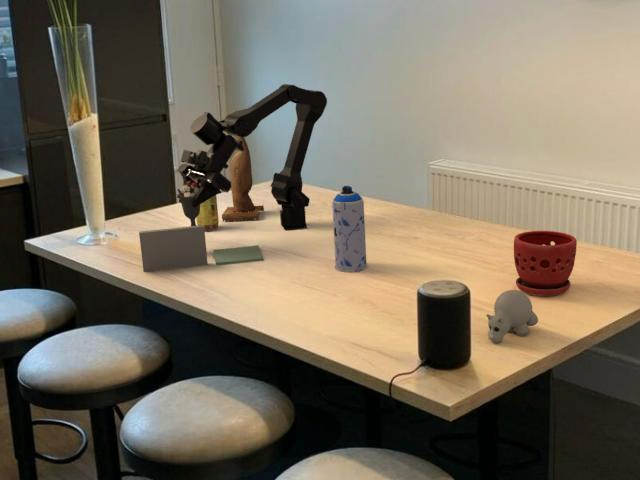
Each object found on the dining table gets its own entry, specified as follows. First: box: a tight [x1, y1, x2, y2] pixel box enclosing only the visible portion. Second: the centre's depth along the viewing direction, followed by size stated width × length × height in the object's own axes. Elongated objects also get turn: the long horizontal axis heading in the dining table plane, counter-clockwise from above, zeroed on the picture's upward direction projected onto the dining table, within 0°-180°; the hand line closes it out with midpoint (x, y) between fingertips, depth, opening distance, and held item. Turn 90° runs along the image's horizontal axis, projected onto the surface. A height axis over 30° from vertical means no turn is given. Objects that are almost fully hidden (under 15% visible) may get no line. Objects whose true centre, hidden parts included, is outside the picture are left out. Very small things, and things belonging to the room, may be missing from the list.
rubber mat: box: [212, 244, 264, 266], centre depth 244 cm, size 12×12×1 cm
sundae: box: [176, 174, 200, 226], centre depth 246 cm, size 7×7×15 cm
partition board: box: [138, 225, 209, 272], centre depth 237 cm, size 16×2×10 cm, turn 99°
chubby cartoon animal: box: [486, 289, 539, 344], centre depth 182 cm, size 7×12×8 cm, turn 130°
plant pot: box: [513, 230, 578, 297], centre depth 205 cm, size 13×13×12 cm
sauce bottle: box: [195, 169, 220, 232], centre depth 269 cm, size 7×6×20 cm
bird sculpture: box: [221, 109, 265, 223], centre depth 278 cm, size 11×12×32 cm
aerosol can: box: [331, 185, 368, 273], centre depth 227 cm, size 8×8×20 cm
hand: (186, 204), depth 245 cm, fingers closed on sundae, 6 cm apart
